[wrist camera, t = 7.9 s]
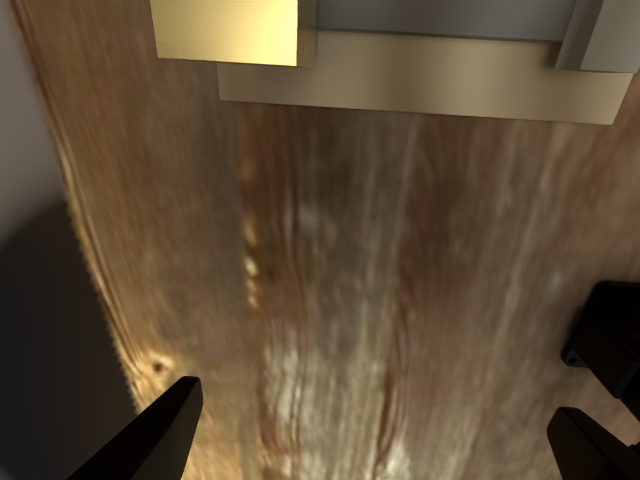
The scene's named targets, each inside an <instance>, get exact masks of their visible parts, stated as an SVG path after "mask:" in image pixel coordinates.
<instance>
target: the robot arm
mask: <svg viewBox="0 0 640 480" xmlns="http://www.w3.org/2000/svg"><path fill="white" fill-rule="evenodd" d="M607 289H608V290H607ZM606 290H607V291H606ZM561 359H562V361H563V362H564V363H565V364H566V365H567V366H573V367H586V368H589V369H590V370H591V371H592V373H593V374H594V375H595V376H596V377H597V378H598V380H599V381H600V382H601V383H602V384H603V386H604V387H605V388H606V389H607V390H608V391H609V393H610V394H611V395H612V396H613V397H614V398H616V399H620V400H621V401H622V402H623V404H624V405H625V406H626V407H627V408H628V409H629V411H630V412H631V413H632V414H633V415H634V416H635V417H636V419H637V420H638V421H639V422H640V284H637V283H623V282H609V281H606V282H602V283H600V284H599V285H597V287H596V288H595V290H594V292H593V294H592V296H591V298H590V300H589V302H588V304H587V306H586V308H585V310H584V312H583V314H582V316H581V318H580V320H579V322H578V324H577V326H576V328H575V330H574V332H573V334H572V336H571V338H570V340H569V342H568V344H567V346H566V348H565V350H564V352H563V354H562V356H561ZM202 407H203V393H202V387H201V381H200V378H199V377H193V376H183V377H181V378H180V379H179V380H178V381H177V382H176V383H174V384H173V385H172V386H171V387H170V388H169V389H168V390H166V391H165V392H164V393H163V394H162V395H161V396H160V397H159V398H157V399H156V400H155V401H154V402H153V403H152V404H151V405H150V406H148V407H147V408H146V409H145V410H144V411H143V412H142V413H140V414H139V415H138V416H137V417H136V418H135V419H134V420H133V421H131V422H130V423H129V424H128V425H127V426H126V427H125V428H124V429H122V430H121V431H120V432H119V433H118V434H117V435H116V436H114V438H112V439H111V440H110V441H109V442H108V443H107V444H105V445H104V446H103V447H102V448H101V449H100V450H99V451H97V452H96V453H95V454H94V455H93V456H92V457H91V458H90V459H89V460H87V461H86V462H85V463H84V464H83V465H82V466H81V467H79V468H78V469H77V470H76V471H75V472H74V473H73V474H71V475H70V476H69V477H68V478H67V479H66V480H181V477H182V475H183V472H184V468H185V465H186V462H187V459H188V455H189V452H190V448H191V445H192V441H193V438H194V435H195V431H196V428H197V424H198V421H199V417H200V414H201V411H202ZM547 437H548V440H549V443H550V445H551V448H552V451H553V454H554V457H555V460H556V462H557V465H558V468H559V471H560V474H561V476H562V479H563V480H640V442H638V443H637V444H636V445H633V444H632V445H630V446H629V447H628V446H626V445H625V444H624V443H623V442H621V441H620V440H619V439H617V438H616V437H615V436H614V435H612V434H611V433H610V432H608V431H607V430H606V429H605V428H603V427H602V426H601V425H600V424H598V423H597V422H596V421H594V420H593V419H592V418H591V417H589V416H588V415H587V414H585V413H584V412H583V411H581V410H580V409H578V408H574V407H559V408H558V409H557V410H556V412H555V413H554V415H553V417H552V419H551V421H550V423H549V424H548V426H547Z"/></svg>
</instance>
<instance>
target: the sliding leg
mask: <svg viewBox="0 0 640 480" xmlns="http://www.w3.org/2000/svg"><path fill="white" fill-rule="evenodd" d="M150 3H151V10H152V17H153V25H154V32H155V39H156V46H157V53H158V58H169V59H180V60H191V61H202V62H213V63H224V64H237V65H254V66H270V67H287V68H304V69H314V55H317V49H318V27H319V4H320V0H150Z"/></svg>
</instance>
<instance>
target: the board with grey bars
mask: <svg viewBox="0 0 640 480" xmlns="http://www.w3.org/2000/svg"><path fill="white" fill-rule="evenodd" d="M639 67H640V0H320V4H319V27H318V49H317V55H314V69H304V68H287V67H270V66H254V65H237V64H224V63H217V72H218V85H219V99H220V100H225V101H241V102H257V103H273V104H289V105H305V106H321V107H337V108H353V109H369V110H385V111H400V112H416V113H432V114H448V115H464V116H480V117H496V118H512V119H528V120H544V121H559V122H575V123H591V124H607V125H612V124H613V122H614V119H615V117H616V115H617V112H618V110H619V107H620V105H621V103H622V100H623V98H624V96H625V93H626V91H627V88H628V86H629V84H630V81H631V79H632V77H633V74H634V73H637V72H638V69H639Z"/></svg>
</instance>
